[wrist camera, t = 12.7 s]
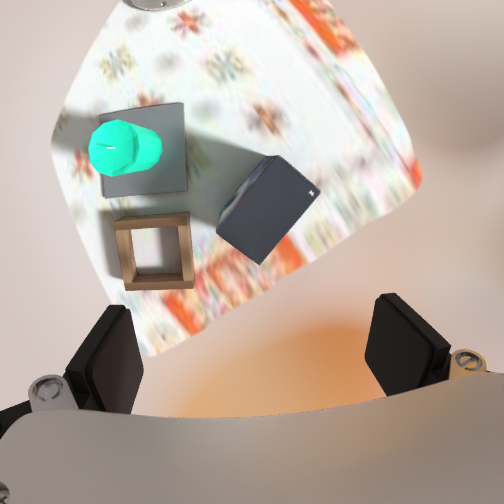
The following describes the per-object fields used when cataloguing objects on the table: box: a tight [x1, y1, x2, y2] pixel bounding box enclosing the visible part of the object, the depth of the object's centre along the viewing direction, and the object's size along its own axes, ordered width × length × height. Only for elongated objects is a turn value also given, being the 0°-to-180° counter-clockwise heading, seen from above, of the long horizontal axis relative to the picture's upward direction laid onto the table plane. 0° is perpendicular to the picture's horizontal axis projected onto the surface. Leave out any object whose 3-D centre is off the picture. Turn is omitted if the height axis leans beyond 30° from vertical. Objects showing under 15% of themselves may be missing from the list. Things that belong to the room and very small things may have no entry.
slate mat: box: [101, 103, 188, 199], centre depth 37 cm, size 12×12×1 cm
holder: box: [114, 212, 195, 291], centre depth 40 cm, size 10×10×3 cm
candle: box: [88, 119, 163, 177], centre depth 31 cm, size 6×6×12 cm
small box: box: [216, 155, 321, 265], centre depth 35 cm, size 11×6×10 cm, turn 141°
